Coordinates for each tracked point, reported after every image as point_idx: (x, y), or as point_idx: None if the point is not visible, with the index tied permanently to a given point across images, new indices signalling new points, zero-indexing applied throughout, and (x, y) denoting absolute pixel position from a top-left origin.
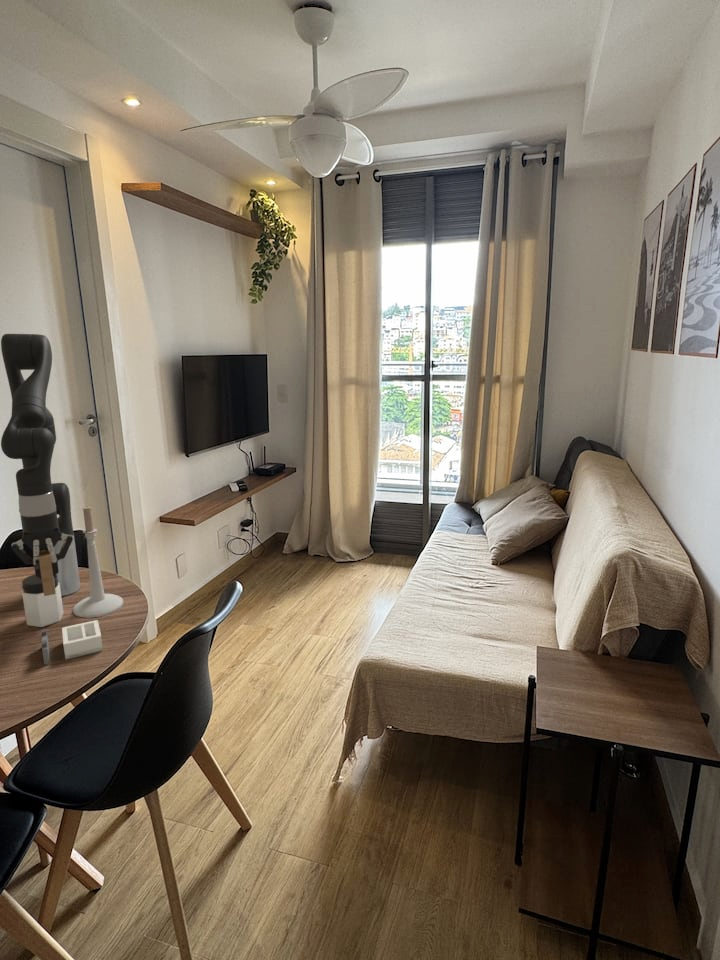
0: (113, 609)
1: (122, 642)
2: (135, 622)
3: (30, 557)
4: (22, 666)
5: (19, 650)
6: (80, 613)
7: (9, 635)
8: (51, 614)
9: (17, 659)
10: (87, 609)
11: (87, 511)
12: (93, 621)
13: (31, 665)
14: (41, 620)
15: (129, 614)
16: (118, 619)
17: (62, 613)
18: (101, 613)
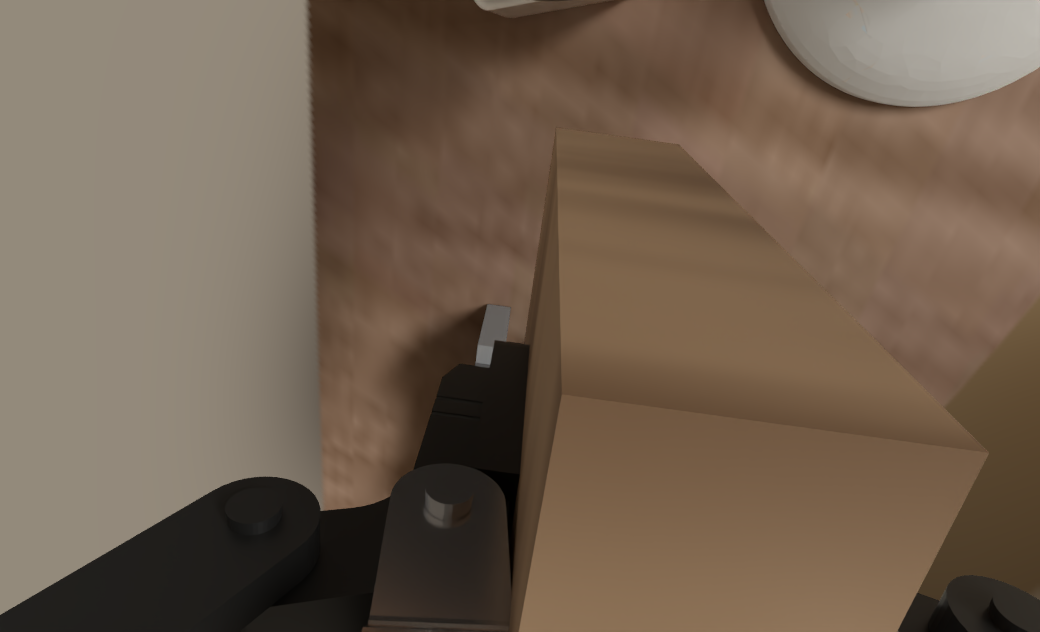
0: (996, 87)
1: None
2: (994, 333)
3: (306, 606)
4: (378, 429)
5: (368, 261)
6: (784, 8)
7: (312, 7)
8: (586, 2)
9: (358, 351)
10: (844, 18)
11: None
12: None
13: (415, 444)
14: (511, 16)
15: (1035, 200)
16: (944, 228)
17: None
18: (900, 101)
